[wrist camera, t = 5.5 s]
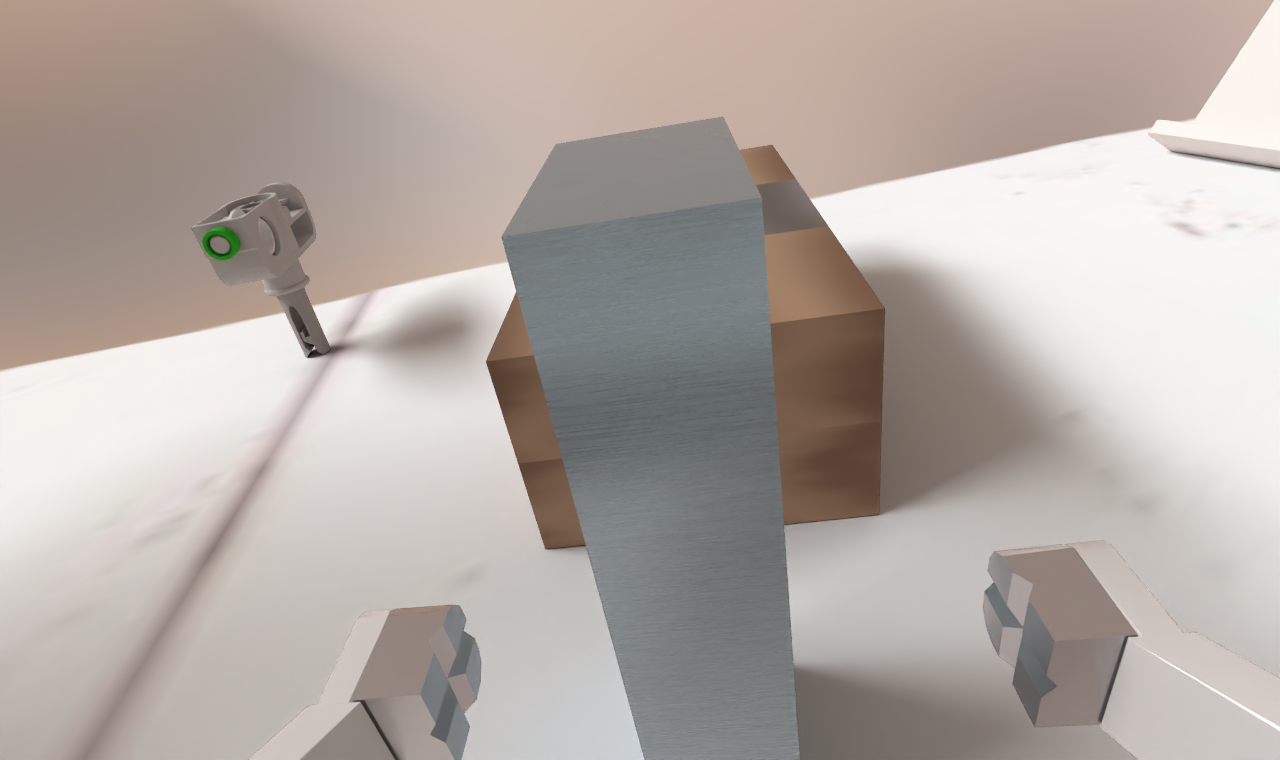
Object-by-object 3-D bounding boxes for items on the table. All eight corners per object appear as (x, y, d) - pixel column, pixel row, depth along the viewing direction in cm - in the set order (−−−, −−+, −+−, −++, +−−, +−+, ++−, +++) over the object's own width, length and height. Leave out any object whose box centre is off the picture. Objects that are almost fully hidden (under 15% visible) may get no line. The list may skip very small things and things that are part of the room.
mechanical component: (359, 315, 48) (302, 174, 43) (317, 387, 39) (238, 221, 34) (318, 323, 48) (255, 183, 43) (266, 397, 39) (180, 232, 34)
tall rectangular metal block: (673, 865, 15) (501, 237, 8) (669, 671, 20) (555, 144, 12) (806, 857, 15) (762, 196, 8) (773, 662, 19) (723, 117, 12)
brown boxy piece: (545, 549, 25) (485, 361, 21) (592, 301, 44) (566, 177, 40) (879, 514, 24) (884, 308, 20) (779, 274, 43) (772, 144, 38)
